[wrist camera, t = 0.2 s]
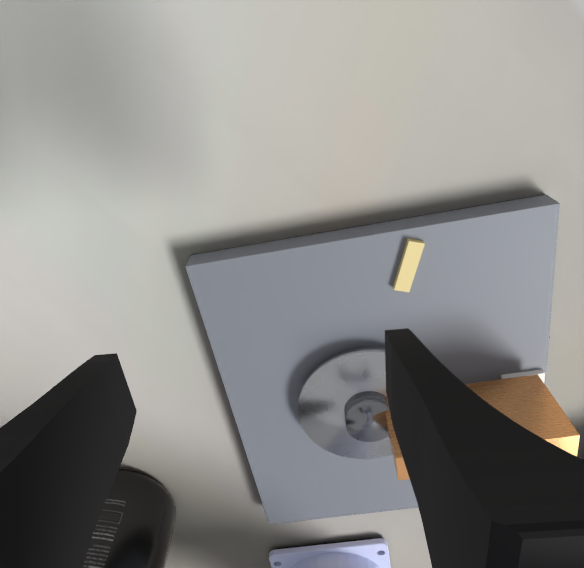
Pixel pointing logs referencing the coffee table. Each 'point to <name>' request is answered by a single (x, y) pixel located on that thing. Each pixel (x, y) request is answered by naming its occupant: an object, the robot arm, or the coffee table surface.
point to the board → (370, 330)
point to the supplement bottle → (133, 525)
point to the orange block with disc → (376, 415)
